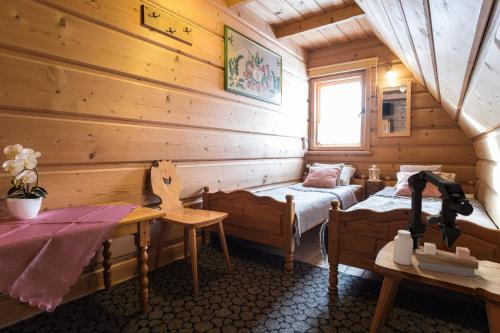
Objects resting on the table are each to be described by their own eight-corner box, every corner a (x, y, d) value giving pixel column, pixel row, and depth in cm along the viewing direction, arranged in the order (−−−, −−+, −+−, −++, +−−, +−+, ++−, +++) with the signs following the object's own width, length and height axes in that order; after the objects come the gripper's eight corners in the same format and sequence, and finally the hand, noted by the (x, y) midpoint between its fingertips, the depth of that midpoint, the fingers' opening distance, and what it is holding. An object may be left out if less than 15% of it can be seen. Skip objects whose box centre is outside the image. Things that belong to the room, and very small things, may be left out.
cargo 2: (455, 255, 128) (456, 246, 128) (466, 256, 127) (467, 248, 126) (458, 258, 125) (458, 249, 124) (469, 260, 123) (470, 251, 123)
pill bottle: (414, 266, 131) (416, 235, 130) (395, 264, 133) (397, 233, 131) (408, 259, 139) (410, 229, 138) (390, 257, 141) (392, 228, 139)
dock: (417, 261, 136) (418, 255, 136) (468, 269, 129) (468, 263, 128) (420, 268, 129) (420, 262, 129) (474, 277, 121) (474, 270, 121)
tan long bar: (415, 256, 136) (415, 248, 135) (473, 264, 127) (474, 257, 126) (416, 260, 131) (417, 253, 130) (478, 269, 122) (478, 262, 121)
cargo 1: (423, 250, 133) (424, 242, 133) (433, 252, 132) (434, 243, 131) (425, 253, 130) (425, 245, 129) (435, 255, 128) (436, 246, 128)
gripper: (424, 204, 138) (422, 235, 139) (431, 213, 121) (429, 248, 122) (451, 206, 133) (449, 238, 135) (463, 216, 116) (460, 252, 118)
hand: (446, 244), depth 128 cm, fingers open, 9 cm apart
